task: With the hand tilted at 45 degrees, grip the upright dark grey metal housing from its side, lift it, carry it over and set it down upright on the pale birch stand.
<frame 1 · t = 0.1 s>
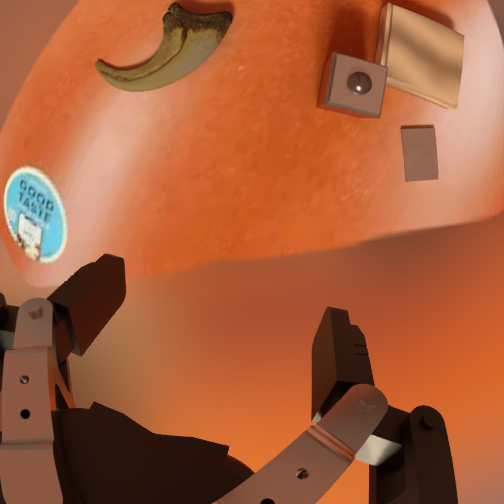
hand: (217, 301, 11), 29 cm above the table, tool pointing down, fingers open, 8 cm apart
housing: (341, 92, 32), on the table
claw: (162, 49, 32), on the table
cover plate: (418, 153, 34), on the table
stand: (416, 57, 28), on the table
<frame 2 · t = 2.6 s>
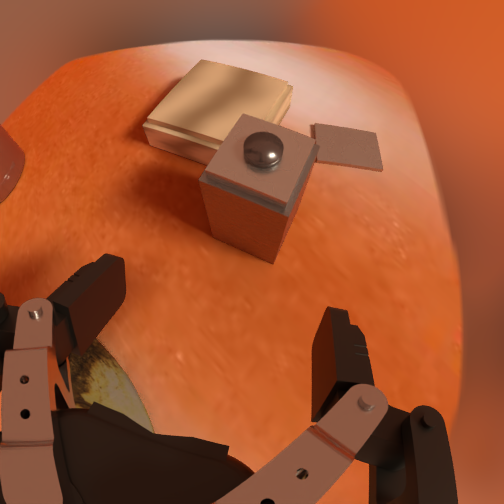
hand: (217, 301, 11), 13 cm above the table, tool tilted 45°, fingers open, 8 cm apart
housing: (256, 223, 26), on the table
claw: (103, 445, 20), on the table
cover plate: (346, 150, 29), on the table
stand: (221, 122, 29), on the table
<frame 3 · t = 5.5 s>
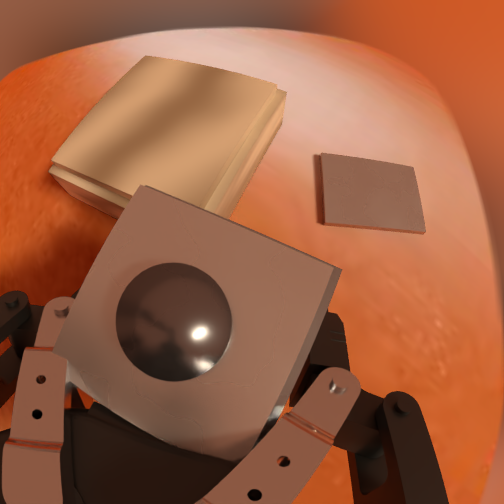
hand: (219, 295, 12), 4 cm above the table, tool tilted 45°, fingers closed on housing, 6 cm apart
housing: (219, 339, 15), on the table, touching gripper
cover plate: (370, 198, 19), on the table
stand: (172, 154, 19), on the table
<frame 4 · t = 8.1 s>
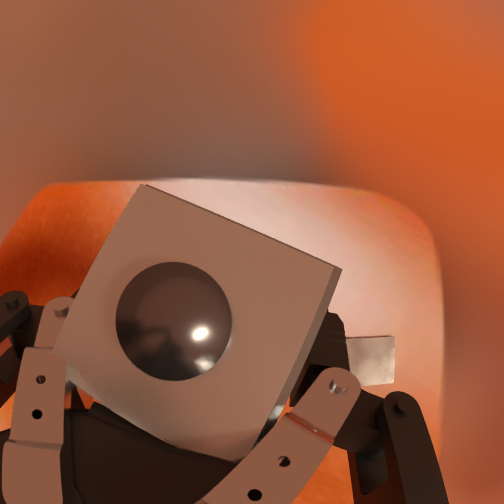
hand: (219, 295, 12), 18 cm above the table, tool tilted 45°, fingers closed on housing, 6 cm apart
housing: (219, 339, 15), point 14 cm above the table, touching gripper
cover plate: (361, 361, 28), on the table
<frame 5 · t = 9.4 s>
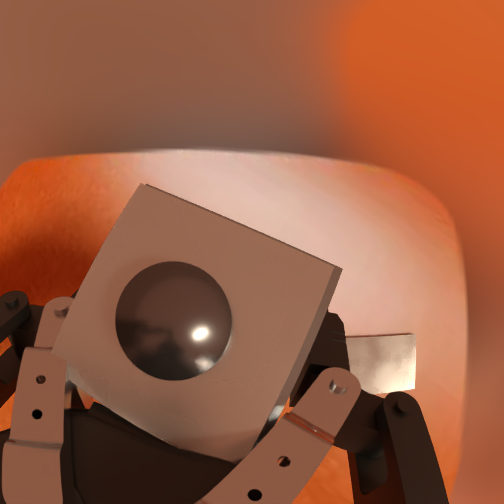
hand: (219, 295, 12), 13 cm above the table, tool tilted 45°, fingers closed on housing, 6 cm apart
housing: (219, 338, 15), point 8 cm above the table, touching gripper
cover plate: (377, 364, 23), on the table
when the fingers open (10 cm above the table, at t = 10.7 s): housing drops 1 cm, resting on stand.
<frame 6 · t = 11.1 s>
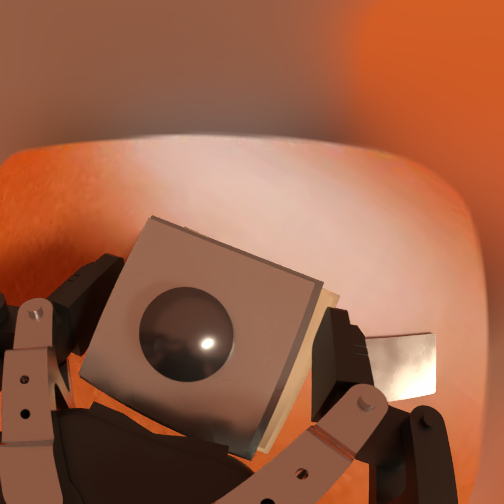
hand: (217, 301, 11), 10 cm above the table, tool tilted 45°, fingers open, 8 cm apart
housing: (221, 342, 17), point 4 cm above the table, touching stand
cover plate: (395, 368, 20), on the table
stand: (225, 341, 20), on the table
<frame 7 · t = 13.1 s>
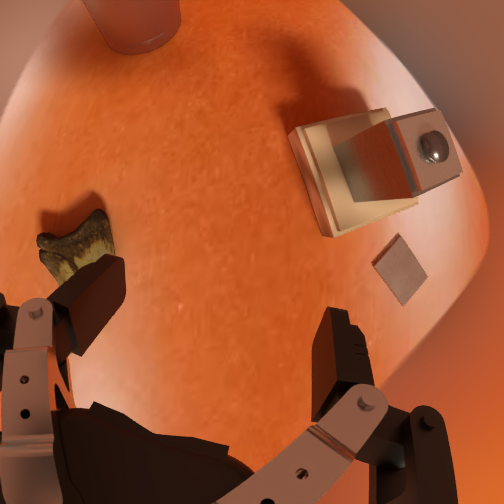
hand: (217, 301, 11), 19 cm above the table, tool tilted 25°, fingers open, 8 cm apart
housing: (366, 166, 27), point 4 cm above the table, touching stand
claw: (66, 291, 29), on the table
cover plate: (398, 270, 33), on the table
stand: (350, 171, 31), on the table
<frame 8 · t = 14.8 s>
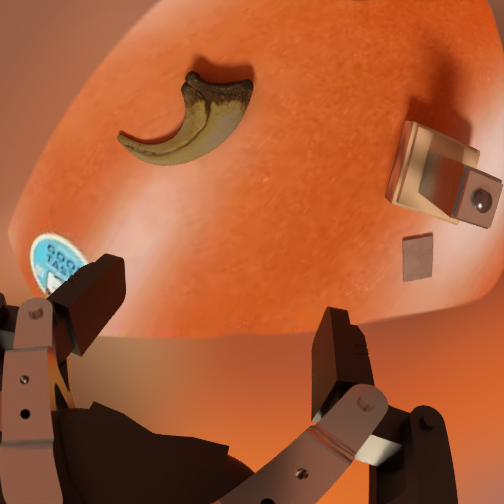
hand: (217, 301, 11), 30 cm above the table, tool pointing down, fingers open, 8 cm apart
housing: (440, 177, 31), point 4 cm above the table, touching stand
claw: (185, 120, 37), on the table
cover plate: (416, 256, 41), on the table
stand: (429, 171, 35), on the table
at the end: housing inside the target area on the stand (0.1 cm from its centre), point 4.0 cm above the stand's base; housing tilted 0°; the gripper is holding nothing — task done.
